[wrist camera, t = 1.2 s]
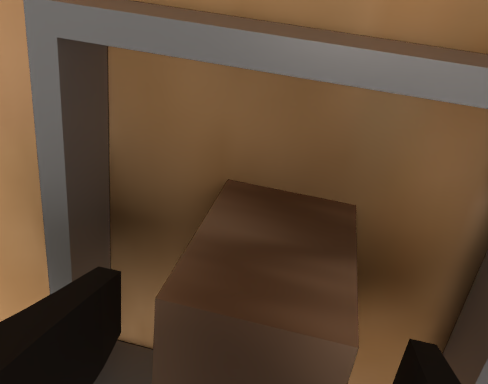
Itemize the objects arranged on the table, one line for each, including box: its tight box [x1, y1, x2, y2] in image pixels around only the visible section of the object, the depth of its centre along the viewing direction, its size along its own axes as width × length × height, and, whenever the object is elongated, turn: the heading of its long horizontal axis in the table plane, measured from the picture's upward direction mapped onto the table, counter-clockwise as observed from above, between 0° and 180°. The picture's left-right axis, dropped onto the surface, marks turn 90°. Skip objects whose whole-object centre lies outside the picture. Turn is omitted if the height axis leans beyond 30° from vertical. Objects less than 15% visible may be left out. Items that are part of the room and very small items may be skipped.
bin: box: [23, 0, 488, 384], centre depth 14 cm, size 14×14×2 cm
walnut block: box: [152, 180, 359, 384], centre depth 12 cm, size 4×4×6 cm
